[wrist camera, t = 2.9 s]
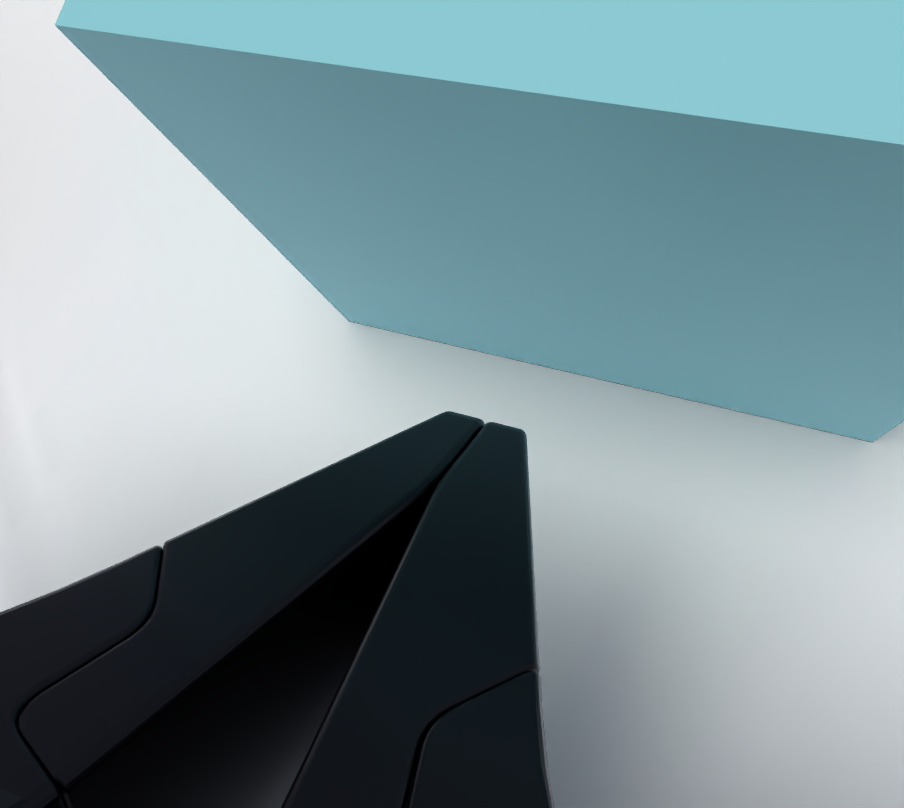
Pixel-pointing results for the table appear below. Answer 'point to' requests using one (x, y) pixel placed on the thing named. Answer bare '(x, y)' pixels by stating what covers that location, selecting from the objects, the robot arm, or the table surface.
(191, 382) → the table surface
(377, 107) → the t block
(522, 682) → the robot arm
